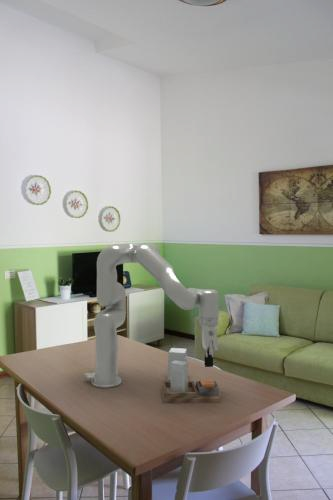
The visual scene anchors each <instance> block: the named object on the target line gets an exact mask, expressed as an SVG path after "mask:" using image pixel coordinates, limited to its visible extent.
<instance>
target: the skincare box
mask: <svg viewBox="0 0 333 500" xmlns="http://www.w3.org/2000/svg"><path fill="white" fill-rule="evenodd" d="M170 381H171V392H187V391H188V381H189V362H188V361H187V362H183V361H177V360H175V361H173V362H172V363H171V380H170Z"/></svg>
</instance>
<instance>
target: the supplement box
mask: <svg viewBox="0 0 333 500" xmlns="http://www.w3.org/2000/svg"><path fill="white" fill-rule="evenodd" d="M187 351H188V349H187V348H181V347H180V348H177V347H171V348H170V349H169V351H168V356H167V357H168V358H167V359H168V368H167V381H171V363H172V362H173V361H175V360H177V361H183V362H188V361H187V357H188V352H187Z"/></svg>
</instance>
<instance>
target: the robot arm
mask: <svg viewBox="0 0 333 500" xmlns="http://www.w3.org/2000/svg"><path fill="white" fill-rule="evenodd" d="M129 263H130V264H133V263H134V264H135V263H136V264H139V265H140V266H141V267H142V268H143V269H144V270H145V271H147V273H148V274H150V275H151V276H152V277H153V279H155V280H156V281H157V282H158V284H159V287H160V288H161V289H162V291H163V292H164V293H165V295H166V296H167V297H168V298H169V299H170V300H171V301H172V302H173V303H174V304H175V305H176V306H177V307H179V308H180V309H182V310H184V311H190V310H192V309H194V307H198V309H199V314H198V315H199V317H198V319H199V320H198V321H199V322H198V323H199V326H200V327H201V344H202V347H203V349H204V367H205V368H212V367H214V351H216V352H217V351H218V350H219V349H218V330H217V326H219V292H218V291H217V290H216V289H212V288H211V289H210V288H209V289H207V288H206V289H200V288H197V287H195V288H194V287H189V288H188V287H187V288H186V287H185V286H184V284H182V283H181V281H180V280H179V279H178V278H177V276H176V274H175V270H174V269H175V268H174V267H173V266H172V265H171V264H170V263H169V262H168V261H167V260H166V259H165V258H164V257H163V256H162V255H161V252H160V249H159V247H158V245H156V244H153V243H150V242H149V243H116V244H112V245H109V246H107V247H105V248H104V249H103V250H101V251H100V253H99V254H98V256H97V260H96V301H97V303H98V305H100V306H101V307H105V309H103V310H101V311H99V312H98V313H97V314H96V315H95V317H94V319H93V329H94V337H95V344H94V345H95V367H94V368H95V370H94V371H93V372H85V373H84V378H86V380H91V384H92V385H93V386H94V387H97V388H101V389H102V388H103V389H106V388H113V387H114V388H115V387H117V386H119V385H121V383H122V378H121V377H120V376H118V375H119V374H118V373H119V368H118V367H119V363H118V362H119V338H118V333H117V328H119V327H121V326H123V324H124V323H125V321H126V317H127V315H126V314H127V313H126V311H127V304H126V303H127V295H126V290H125V287H124V286H123V285H122V284H121V282H118V273H117V272H118V271H117V268H116V267H117V266H119V265H123V264H124V265H125V264H129Z"/></svg>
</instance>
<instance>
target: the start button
mask: <svg viewBox="0 0 333 500" xmlns="http://www.w3.org/2000/svg"><path fill="white" fill-rule="evenodd" d="M199 381H200V386H201V387H215V384H214V382H213V381H214V380H213V379H199Z"/></svg>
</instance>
